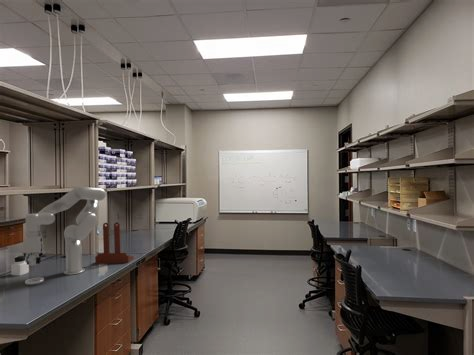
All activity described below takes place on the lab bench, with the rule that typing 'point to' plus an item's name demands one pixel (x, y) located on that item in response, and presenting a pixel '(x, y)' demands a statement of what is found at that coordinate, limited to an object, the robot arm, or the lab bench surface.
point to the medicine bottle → (19, 266)
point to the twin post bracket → (116, 256)
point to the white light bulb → (32, 260)
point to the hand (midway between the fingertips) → (33, 263)
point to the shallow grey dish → (34, 281)
